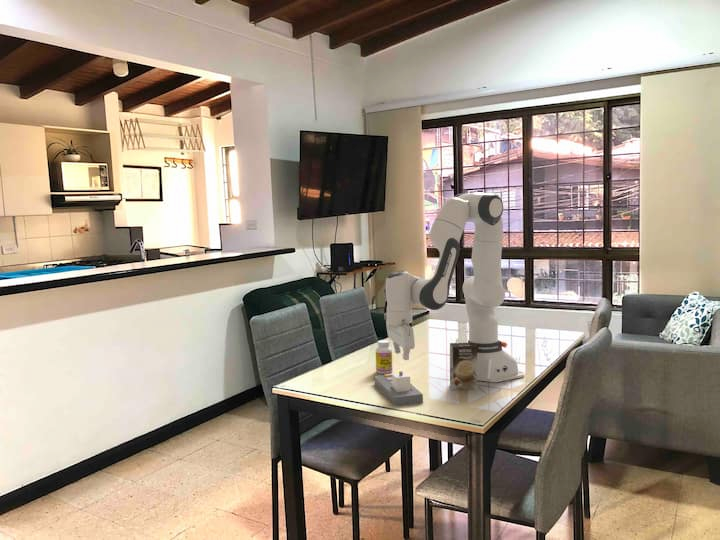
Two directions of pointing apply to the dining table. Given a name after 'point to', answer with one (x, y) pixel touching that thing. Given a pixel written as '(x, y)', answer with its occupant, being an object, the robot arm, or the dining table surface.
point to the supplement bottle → (383, 357)
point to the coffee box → (463, 366)
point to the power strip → (399, 397)
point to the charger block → (401, 382)
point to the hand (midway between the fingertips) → (401, 356)
